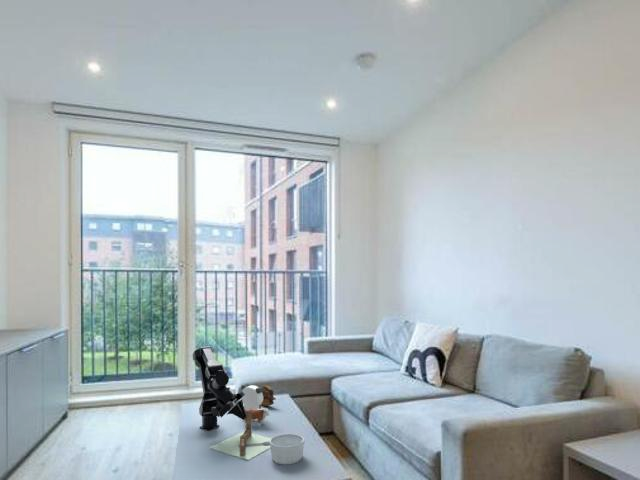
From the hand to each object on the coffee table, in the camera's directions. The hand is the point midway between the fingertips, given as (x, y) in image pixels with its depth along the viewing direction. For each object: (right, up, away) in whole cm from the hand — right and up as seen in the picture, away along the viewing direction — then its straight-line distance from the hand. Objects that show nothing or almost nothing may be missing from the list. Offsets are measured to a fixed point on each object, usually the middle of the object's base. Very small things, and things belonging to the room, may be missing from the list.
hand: (245, 418), depth 179 cm
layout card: (+2, -7, -8) cm, 11 cm away
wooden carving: (+3, -11, +42) cm, 44 cm away
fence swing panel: (+1, -7, -4) cm, 8 cm away
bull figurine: (+3, -9, +13) cm, 16 cm away
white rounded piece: (-1, -10, +24) cm, 26 cm away
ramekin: (+20, -6, -21) cm, 30 cm away
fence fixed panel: (+2, -7, -14) cm, 16 cm away
